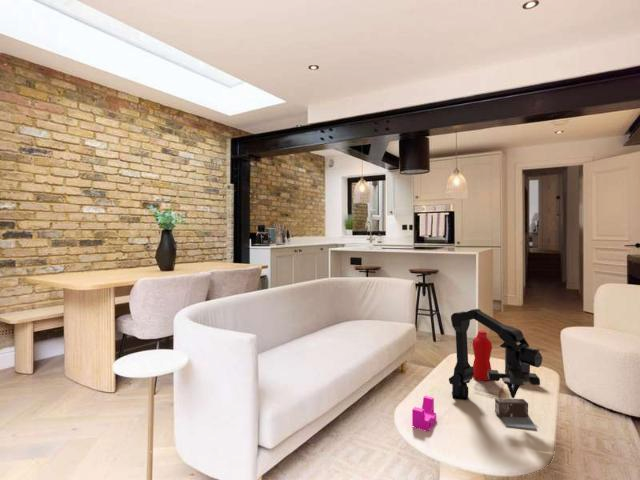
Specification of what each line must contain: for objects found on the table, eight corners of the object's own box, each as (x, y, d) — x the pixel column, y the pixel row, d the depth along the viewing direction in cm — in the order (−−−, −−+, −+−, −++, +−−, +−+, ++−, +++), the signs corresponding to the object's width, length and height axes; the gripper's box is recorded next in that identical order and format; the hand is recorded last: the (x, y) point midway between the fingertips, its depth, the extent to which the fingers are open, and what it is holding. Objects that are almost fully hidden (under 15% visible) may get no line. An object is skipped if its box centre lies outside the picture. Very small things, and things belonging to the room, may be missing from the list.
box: (499, 403, 154) (528, 403, 154) (494, 398, 159) (522, 398, 158) (499, 417, 154) (528, 417, 154) (494, 412, 159) (523, 412, 159)
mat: (505, 426, 148) (505, 425, 148) (498, 409, 162) (498, 408, 162) (536, 430, 145) (536, 428, 145) (526, 412, 160) (526, 411, 160)
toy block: (427, 432, 144) (427, 413, 144) (412, 428, 148) (412, 409, 147) (439, 417, 156) (439, 399, 156) (425, 413, 160) (425, 395, 160)
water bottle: (468, 373, 204) (468, 328, 203) (490, 375, 201) (490, 329, 200) (470, 380, 195) (470, 332, 194) (493, 382, 192) (493, 334, 191)
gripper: (492, 364, 148) (491, 403, 148) (544, 369, 143) (544, 409, 143) (487, 355, 159) (486, 392, 159) (535, 359, 154) (535, 397, 154)
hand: (512, 397), depth 154 cm, fingers closed
